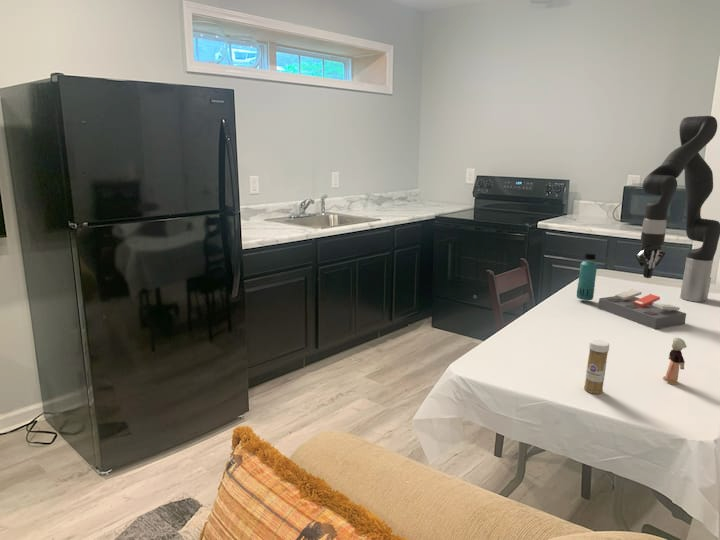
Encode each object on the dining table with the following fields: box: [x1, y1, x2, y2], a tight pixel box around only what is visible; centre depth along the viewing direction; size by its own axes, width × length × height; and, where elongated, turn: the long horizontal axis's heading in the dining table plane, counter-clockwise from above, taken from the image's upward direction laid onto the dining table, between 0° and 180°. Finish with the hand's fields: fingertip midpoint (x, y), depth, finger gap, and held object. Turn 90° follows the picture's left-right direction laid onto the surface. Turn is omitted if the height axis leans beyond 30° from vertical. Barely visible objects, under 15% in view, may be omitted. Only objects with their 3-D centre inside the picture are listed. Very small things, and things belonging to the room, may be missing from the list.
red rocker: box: [633, 293, 661, 307], centre depth 199 cm, size 9×4×2 cm, turn 112°
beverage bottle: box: [576, 252, 598, 301], centre depth 213 cm, size 6×7×20 cm
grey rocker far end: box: [652, 302, 681, 311], centre depth 192 cm, size 9×4×2 cm, turn 113°
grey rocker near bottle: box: [614, 288, 642, 300], centre depth 206 cm, size 9×4×2 cm, turn 113°
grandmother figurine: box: [662, 337, 688, 386], centre depth 143 cm, size 8×4×13 cm, turn 5°
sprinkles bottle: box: [583, 339, 610, 395], centre depth 138 cm, size 5×5×13 cm
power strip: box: [597, 295, 687, 330], centre depth 199 cm, size 15×25×4 cm, turn 23°
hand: (647, 277), depth 197 cm, fingers closed
